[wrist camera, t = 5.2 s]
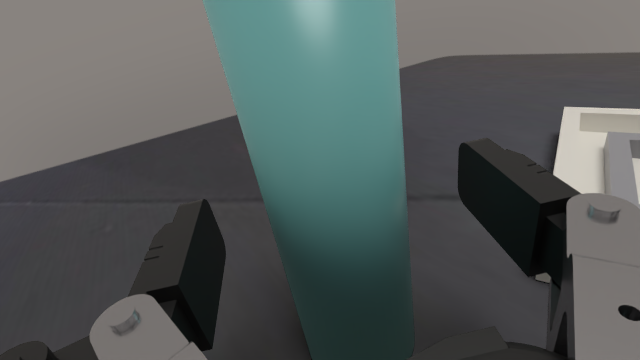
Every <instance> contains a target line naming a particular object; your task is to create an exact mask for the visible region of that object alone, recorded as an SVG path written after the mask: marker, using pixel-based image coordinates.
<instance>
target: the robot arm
mask: <svg viewBox="0 0 640 360" xmlns="http://www.w3.org/2000/svg"><path fill="white" fill-rule="evenodd" d="M458 192H459V195H460V198H461V200H462V202H463V204H464V205H465V206H466V207H467V209H468V210H469V211H470V212H471V213H472V214H473V215H474V216H475V218H476V219H477V220H478V221H479V222H480V223H481V224H482V226H483V227H484V228H485V229H486V230H487V231H488V232H489V233H490V235H491V236H492V237H493V238H494V239H495V240H496V241H497V242H498V244H499V245H500V246H501V247H502V248H503V249H504V250H505V251H506V253H507V254H508V255H509V256H510V257H511V258H512V259H513V260H514V262H515V263H516V264H517V265H518V266H519V267H520V268H521V269H522V271H523V272H524V273H525V274H526V275H527V276H528V277H530V276H534V275H539V274H543V273H547V274H548V275H549V276H550V277H551V279H550V284H549V296H548V320H547V342H546V349H543V348H540V347H536V346H532V345H527V344H522V343H514V342H505V341H504V340H503V338H502V337H501V335H500V334H499V332H498V331H497V329H496V328H495V326H493V327H489V328H485V329H481V330H476V331H472V332H468V333H464V334H459V335H455V336H451V337H447V338H445V339H443V340H441V341H439V342H438V343H436V344H434V345H432V346H430V347H428V348H427V349H425V350H423V351H421V352H419V353H417V354H415V355H414V356H412V357H410V358H408V359H406V360H640V209H639V208H638V207H637V206H636V205H634V204H633V203H631V202H629V201H627V200H625V199H622V198H619V197H616V196H612V195H608V194H601V193H585V194H581V193H580V192H578V191H577V190H575V189H574V188H572V187H571V186H569V185H568V184H566V183H565V182H563V181H562V180H561V179H559V178H558V177H556V176H555V175H553V174H552V173H550V172H547V170H546V169H544V168H543V167H541V166H540V165H536V163H535V162H534V161H532V160H531V159H529V158H528V157H526V156H525V155H523V154H520V153H517V152H514V151H511V150H508V149H506V150H504V149H503V148H501V147H500V146H498V145H497V144H496V143H494V142H493V141H491V140H490V139H488V138H483V139H478V140H474V141H469V142H465V143H462V144H461V145H460V147H459V159H458ZM225 259H226V250H225V244H224V240H223V237H222V235H221V232H220V230H219V227H218V225H217V222H216V220H215V217H214V215H213V212H212V210H211V207H210V205H209V203H208V202H207V200H205V199H203V200H198V201H194V202H189V203H185V204H181V205H179V207H178V210H177V212H176V215H175V217H174V220H173V223H168V224H165V225H164V226H163V228H162V229H161V230H160V231H159V232H158V233H157V234H156V235H155V236H154V238H153V240H152V243H151V245H150V247H149V251H148V252H147V254H146V256H145V258H144V260H145V262H143V263H142V265H141V268H140V270H139V272H138V274H137V277H136V279H135V281H134V284H133V286H132V288H131V290H130V293H129V295H128V297H127V298H124V299H122V300H120V301H118V302H117V303H115V304H113V305H112V306H111V307H109V308H108V309H107V310H106V311H104V312H103V313H102V314H101V315H100V317H99V318H98V319H97V320H96V322H95V323H94V325H93V327H92V329H91V332H90V335H89V336H87V337H85V338H83V339H81V340H79V341H77V342H75V343H73V344H71V345H68V346H66V347H64V348H62V349H60V350H58V351H56V352H54V353H53V352H52V351H51V350H50V349H49V348H48V347H47V346H46V345H45V344H44V343H43V342H39V341H31V342H26V343H23V344H20V345H18V346H16V347H14V348H12V349H10V350H8V351H6V352H5V353H3V354H1V355H0V360H207V358H206V357H205V356H204V355H203V353H202V352H201V351H206V350H210V349H212V347H213V340H214V334H215V327H216V320H217V313H218V306H219V300H220V293H221V286H222V279H223V272H224V266H225Z"/></svg>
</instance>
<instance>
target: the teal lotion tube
mask: <svg viewBox="0 0 640 360" xmlns="http://www.w3.org/2000/svg"><path fill="white" fill-rule="evenodd" d="M203 3H204V7H205V10H206V13H207V17H208V20H209V23H210V26H211V30H212V33H213V36H214V39H215V43H216V46H217V49H218V53H219V56H220V59H221V63H222V66H223V69H224V73H225V76H226V79H227V82H228V86H229V89H230V92H231V95H232V99H233V102H234V105H235V108H236V112H237V115H238V119H239V122H240V125H241V128H242V132H243V135H244V138H245V142H246V145H247V148H248V151H249V155H250V158H251V161H252V165H253V168H254V171H255V174H256V178H257V181H258V184H259V188H260V191H261V194H262V197H263V201H264V204H265V207H266V211H267V214H268V217H269V220H270V224H271V227H272V230H273V234H274V237H275V240H276V243H277V247H278V250H279V253H280V257H281V260H282V263H283V266H284V270H285V273H286V276H287V280H288V283H289V286H290V289H291V293H292V296H293V299H294V303H295V306H296V309H297V312H298V316H299V319H300V322H301V326H302V329H303V332H304V335H305V339H306V342H307V345H308V349H309V352H310V355H311V358H312V360H406V359H408V358H410V357H411V356H412V353H413V349H414V342H415V336H414V319H413V301H412V284H411V267H410V250H409V233H408V216H407V198H406V181H405V164H404V147H403V130H402V113H401V96H400V78H399V61H398V46H397V45H398V44H397V27H396V10H395V0H203Z"/></svg>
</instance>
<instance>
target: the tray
mask: <svg viewBox="0 0 640 360" xmlns="http://www.w3.org/2000/svg"><path fill="white" fill-rule="evenodd" d="M553 175H555V176H556V177H558V178H559V179H561V180H562V181H563V182H565V183H566V184H568V185H569V186H571V187H572V188H574V189H575V190H577V191H578V192H580V193H581V194H585V193H601V194H608V195H612V196H616V197H619V198H622V199H625V200H627V201H629V202H631V203H633V204H634V205H636V206H637V207H638V208H639V209H640V109H616V108H583V107H564V112H563V117H562V123H561V128H560V134H559V140H558V146H557V152H556V158H555V164H554V170H553ZM550 279H551V277H550V276H549V275H548V274H547V273H543V274H539V275H536V278H535V280H539V281H543V282H547V283H550Z"/></svg>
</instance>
